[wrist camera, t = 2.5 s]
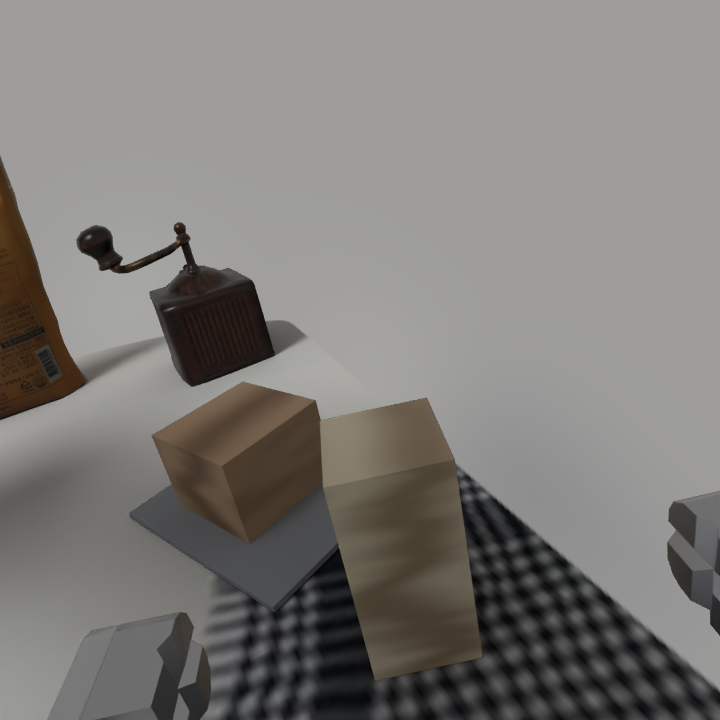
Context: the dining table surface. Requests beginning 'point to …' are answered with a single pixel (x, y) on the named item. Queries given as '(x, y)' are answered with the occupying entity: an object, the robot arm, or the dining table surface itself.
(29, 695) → the dining table surface
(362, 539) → the oak column
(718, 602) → the robot arm
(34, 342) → the pancake mix bag
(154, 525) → the mat
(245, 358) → the manual coffee grinder
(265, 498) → the walnut block
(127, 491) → the dining table surface
